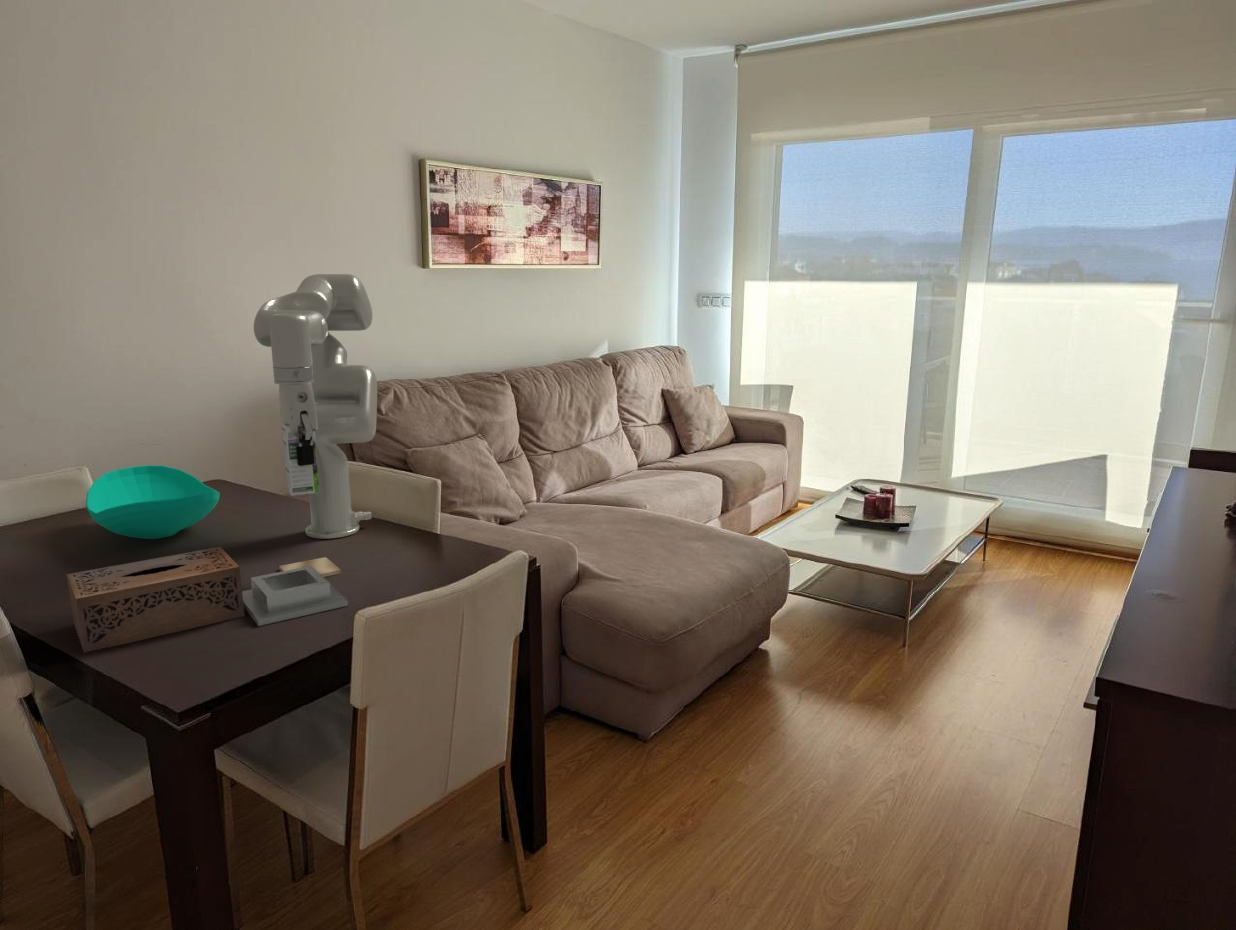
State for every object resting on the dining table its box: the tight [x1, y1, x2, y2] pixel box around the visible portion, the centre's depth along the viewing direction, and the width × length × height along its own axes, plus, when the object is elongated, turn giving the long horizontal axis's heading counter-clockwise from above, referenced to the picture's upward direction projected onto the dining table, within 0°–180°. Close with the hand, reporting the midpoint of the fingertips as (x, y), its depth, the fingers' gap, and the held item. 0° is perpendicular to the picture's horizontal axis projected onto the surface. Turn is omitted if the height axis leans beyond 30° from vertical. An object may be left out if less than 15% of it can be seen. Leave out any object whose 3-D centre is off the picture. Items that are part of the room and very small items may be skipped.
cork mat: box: [278, 556, 342, 578], centre depth 183 cm, size 10×10×1 cm
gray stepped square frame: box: [242, 566, 349, 627], centre depth 166 cm, size 16×16×4 cm
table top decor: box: [85, 464, 221, 540], centre depth 205 cm, size 40×28×13 cm
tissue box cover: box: [66, 546, 245, 652], centre depth 156 cm, size 26×14×10 cm, turn 127°
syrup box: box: [281, 422, 319, 497], centre depth 177 cm, size 6×6×14 cm
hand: (300, 460), depth 177 cm, fingers closed on syrup box, 6 cm apart
